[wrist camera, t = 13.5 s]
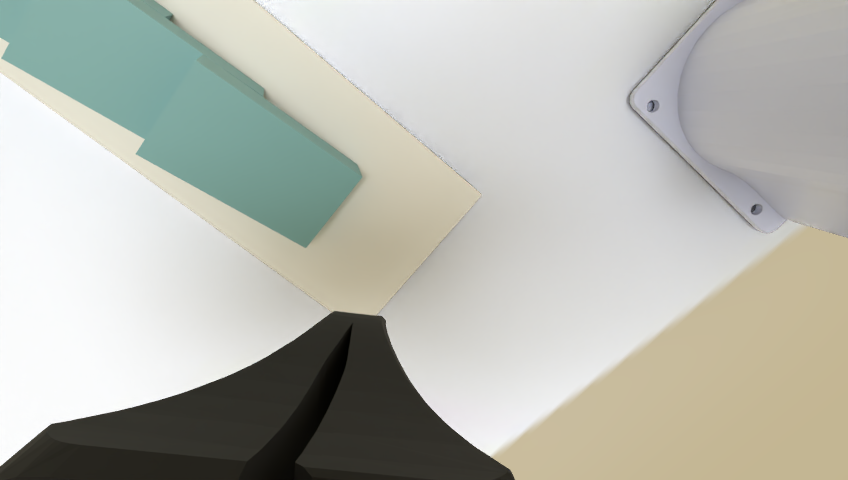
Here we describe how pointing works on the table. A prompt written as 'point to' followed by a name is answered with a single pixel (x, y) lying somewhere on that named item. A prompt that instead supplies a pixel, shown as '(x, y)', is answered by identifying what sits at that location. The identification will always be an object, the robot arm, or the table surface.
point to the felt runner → (331, 121)
